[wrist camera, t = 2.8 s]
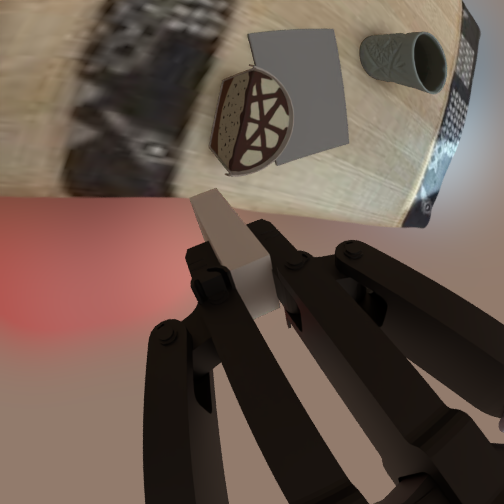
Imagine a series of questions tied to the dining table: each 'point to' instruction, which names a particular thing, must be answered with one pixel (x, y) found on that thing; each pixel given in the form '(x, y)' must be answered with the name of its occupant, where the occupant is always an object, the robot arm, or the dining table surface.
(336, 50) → the mat
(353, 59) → the dining table surface
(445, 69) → the grey green cup
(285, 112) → the food container
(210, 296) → the robot arm
